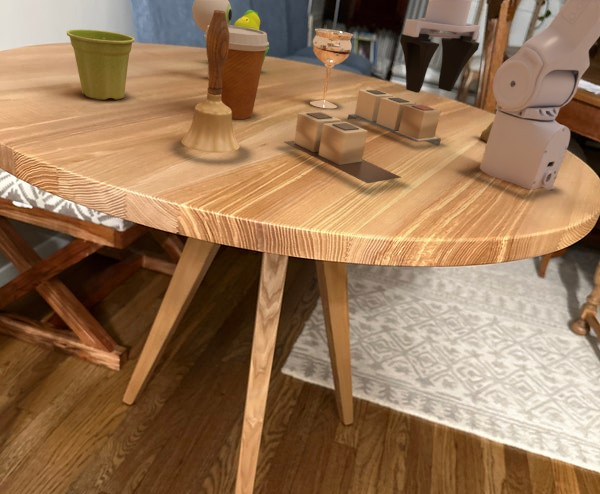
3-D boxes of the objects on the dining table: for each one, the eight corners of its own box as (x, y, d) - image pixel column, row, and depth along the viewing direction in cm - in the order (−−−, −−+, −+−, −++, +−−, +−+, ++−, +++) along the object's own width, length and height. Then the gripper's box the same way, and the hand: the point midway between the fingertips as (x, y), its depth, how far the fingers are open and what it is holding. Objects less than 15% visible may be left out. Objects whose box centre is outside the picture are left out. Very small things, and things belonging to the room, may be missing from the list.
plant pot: (87, 85, 92) (83, 26, 87) (144, 94, 91) (143, 36, 87) (59, 97, 84) (54, 33, 79) (122, 107, 83) (120, 43, 79)
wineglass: (303, 98, 105) (313, 27, 98) (339, 102, 105) (351, 32, 99) (305, 106, 99) (315, 31, 93) (343, 111, 100) (356, 37, 93)
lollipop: (221, 84, 105) (226, -6, 97) (184, 78, 106) (186, -13, 98) (232, 78, 111) (238, -8, 103) (198, 72, 112) (200, -14, 104)
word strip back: (439, 144, 89) (448, 111, 86) (414, 148, 85) (423, 113, 82) (372, 118, 98) (378, 87, 95) (347, 120, 94) (352, 88, 92)
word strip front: (400, 184, 70) (409, 143, 67) (365, 191, 66) (374, 148, 64) (316, 145, 80) (321, 108, 77) (282, 148, 76) (287, 110, 73)
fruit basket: (205, 63, 122) (208, 4, 116) (235, 61, 128) (239, 6, 122) (243, 75, 116) (248, 13, 110) (272, 72, 122) (278, 15, 116)
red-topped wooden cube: (434, 137, 88) (441, 110, 86) (417, 139, 86) (424, 111, 83) (415, 129, 90) (421, 103, 88) (398, 131, 88) (404, 104, 86)
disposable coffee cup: (273, 121, 88) (281, 37, 81) (216, 122, 83) (221, 33, 76) (244, 105, 94) (250, 26, 88) (191, 105, 89) (193, 22, 83)
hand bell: (248, 146, 75) (259, 13, 67) (237, 166, 68) (248, 19, 60) (186, 137, 75) (190, 2, 67) (169, 155, 68) (170, 7, 60)
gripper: (461, -13, 84) (438, 83, 91) (396, -21, 76) (376, 84, 83) (501, -6, 80) (474, 93, 87) (437, -15, 71) (413, 96, 78)
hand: (429, 90), depth 84 cm, fingers open, 7 cm apart
